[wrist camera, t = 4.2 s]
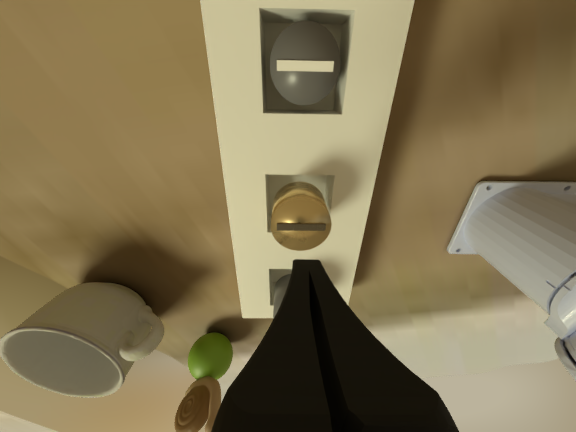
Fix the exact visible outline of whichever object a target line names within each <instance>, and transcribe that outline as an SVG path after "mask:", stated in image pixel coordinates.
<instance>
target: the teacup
mask: <svg viewBox="0 0 576 432" xmlns="http://www.w3.org/2000/svg"><path fill="white" fill-rule="evenodd" d="M151 326H152V329H151ZM150 330H151V331H150ZM163 335H164V326H163V323H162V321H161V320H160V319H159V317H158V316H156V315H155V314H154V313H152V309H151V308H150V307H149V306H146V304H145V302H144V300H143V299H142V298H141V297H140V296H139V295H138V294H137V293H136V292H134V291H133V290H131V289H129V288H127V287H125V286H122V285H119V284H115V283H101V282H90V283H84V284H80V285H76V286H74V287H71V288H69V289H67V290H66V291H64V292H62V293H61V294H59V295H57V296H56V297H55V298H53V299H52V300H51V301H49V302H48V303H47V304H45V305H44V306H43V307H42V308H40V309H39V310H38V311H36V312H35V313H34V314H33V315H31V316H30V317H29V318H28V319H26V320H25V321H24V322H23V323H22V324H20V325H19V326H18V327H17V328H15V329H13V330H11V331H10V332H8V333H7V334H5V335H4V336H3V337H2V338H1V340H0V356H1V358H2V359H3V360H4V362H5V363H6V364H7V365H8V366H9V367H10V369H11V370H12V371H13V372H14V373H16V374H17V375H19V376H21V377H22V378H23V379H25V380H26V381H28V382H30V383H32V384H34V385H36V386H39V387H41V388H44V389H46V390H49V391H53V392H56V393H59V394H63V395H68V396H74V397H85V398H88V397H89V398H94V397H102V396H106V395H109V394H112V393H114V392H116V391H117V390H118V389H119V388H120V387H121V386H122V384H123V382H124V380H125V376H126V375H127V373H128V372H129V370H130V368H131V367H132V365H133V363H134V362H135V361H137V360H140V359H142V358H145V357H146V356H147V355H149V354H150V353H151V352H152V351H153V350H154V349H155V348H156V347H157V346H158V344H159V343H160V342H161V340H162V338H163Z"/></svg>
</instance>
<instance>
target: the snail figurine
mask: <svg viewBox="0 0 576 432" xmlns="http://www.w3.org/2000/svg"><path fill="white" fill-rule="evenodd" d="M232 357H233V350H232V345H231V343H230V341H229V340H228V338H227V337H226V336H224V335H223V334H220V333H208V334H205V335H203V336H202V337H200V338H199V339H198V340H197V341H196V342H195V343H194V345H193V346H192V348H191V350H190V353H189V357H188V367H189V370H190V373H191V374H192V376H193V377H194V378H195V379H197V380H196V381H195V382H193V383H192V384H191V386H190V387H189V388H188V390H187V391H186V393H185V397H184V398H183V400H182V402H181V403H180V405H179V407H178V410H177V413H176V417H175V430H176V432H198V431H199V430H200V429H201V428H202V427H203V425H204V424H205V423H206V421H207V419H208V421H207V424H206V426H205V432H211V430H212V427H213V424H214V420H215V418H216V415H217V412H218V410H219V408H220V405H221V389H220V384H219V382H218V381H217V379H219V378H220V377H222V376H223V375H224V374H225V373H226V371H227V370H228V368H229V367H230V364H231V361H232Z"/></svg>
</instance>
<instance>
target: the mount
mask: <svg viewBox="0 0 576 432" xmlns="http://www.w3.org/2000/svg"><path fill="white" fill-rule="evenodd" d="M414 1H415V0H200V3H201V10H202V18H203V25H204V33H205V40H206V48H207V55H208V63H209V70H210V78H211V85H212V93H213V101H214V108H215V116H216V123H217V131H218V138H219V146H220V153H221V161H222V168H223V176H224V183H225V191H226V198H227V206H228V213H229V221H230V228H231V236H232V243H233V251H234V258H235V266H236V273H237V281H238V288H239V296H240V303H241V311H242V318H273V309H274V291H275V284H276V282H277V281H278V280H279V279H280V278H281V277H283V276H285V275H287V274H291V272H292V264H293V260H295V259H310V260H320V261H321V263H322V265H323V267H324V269H325V271H326V273H327V274H328V276H329V278H330V280H331V281H332V283H333V284H334V286H335V287H336V289H337V290H338V292H339V294H340V295H341V296H342V298H343V299H344V301H345V302H346V303H347V305H348V303H349V299H350V294H351V290H352V285H353V280H354V276H355V271H356V267H357V262H358V258H359V253H360V248H361V244H362V239H363V235H364V230H365V225H366V221H367V216H368V212H369V207H370V203H371V198H372V193H373V189H374V184H375V180H376V175H377V171H378V166H379V161H380V157H381V152H382V148H383V143H384V138H385V134H386V129H387V125H388V120H389V116H390V111H391V106H392V102H393V97H394V93H395V88H396V84H397V79H398V74H399V70H400V65H401V61H402V56H403V51H404V47H405V42H406V38H407V33H408V29H409V24H410V19H411V15H412V10H413V6H414ZM305 20H309V21H314V22H317V23H320V24H322V25H323V26H325V27H326V28H327V29H328V30H329V31H330V32H331V33H332V35H333V36H334V38H335V40H336V42H337V44H338V47H339V51H340V60H341V62H340V72H339V75H338V79H337V81H336V83H335V85H334V87H333V89H332V90H331V91H330V93H329V94H328V95H327V96H326V97H325V98H323V99H322V100H320V101H319V102H317V103H314V104H311V105H297V104H294V103H291V102H289V101H288V100H286V99H285V98H284V97H283V96H282V95H281V94H280V93H279V92H278V91H277V89H276V87H275V85H274V83H273V81H272V77H271V73H270V56H271V52H272V48H273V46H274V43H275V41H276V39H277V38H278V36H279V35H280V34H281V32H282V31H283V30H284V29H286V28H287V27H288V26H290V25H291V24H293V23H296V22H299V21H305ZM299 181H301V182H307V183H310V184H312V185H314V186H316V187H317V188H318V189H319V190H320V191H321V193H322V195H323V197H324V200H325V203H326V206H327V209H328V211H329V214H330V217H331V223H332V225H331V231H330V234H329V235H328V237H327V238H326V240H325V241H324V242H323V243H322V244H320V245H319V246H317V247H315V248H313V249H310V250H305V251H296V250H291V249H288V248H285V247H283V246H282V245H280V244H279V243H278V242H277V241H276V240H275V238H274V237H273V235H272V232H271V217H272V208H273V201H274V197H275V195H276V193H277V192H278V191H279V190H280V189H281V188H282V187H283V186H285V185H287V184H289V183H292V182H299Z"/></svg>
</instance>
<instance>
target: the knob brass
mask: <svg viewBox="0 0 576 432" xmlns="http://www.w3.org/2000/svg"><path fill="white" fill-rule="evenodd" d="M331 225H332V223H331V217H330V214H329V211H328V209H327V206H326V203H325V200H324V197H323V195H322V193H321V191H320V190H319V189H318V188H317V187H316V186H314V185H312V184H310V183H307V182H301V181H299V182H292V183H289V184H287V185H285V186H283V187H282V188H281V189H280V190H279V191H278V192H277V193H276V195H275V197H274V201H273V208H272V217H271V232H272V235H273V237H274V238H275V240H276V241H277V242H278V243H279V244H280V245H282V246H283V247H285V248H288V249H291V250H296V251H305V250H310V249H313V248H315V247H317V246H319V245H320V244H322V243H323V242H324V241H325V240H326V238H327V237H328V235H329V234H330V231H331Z"/></svg>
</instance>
